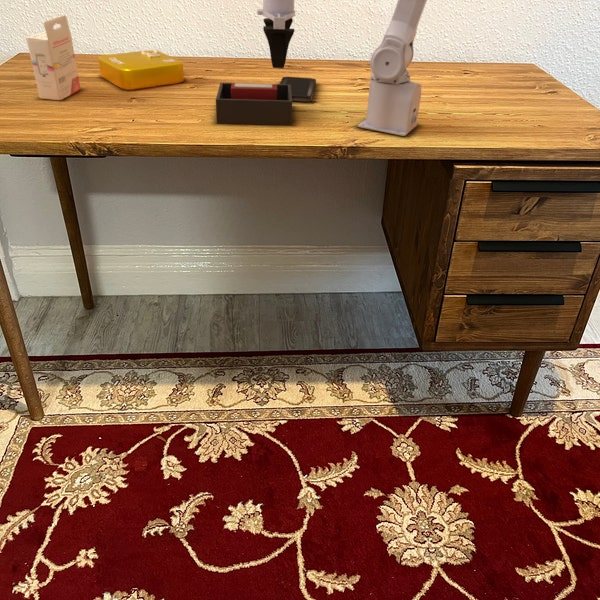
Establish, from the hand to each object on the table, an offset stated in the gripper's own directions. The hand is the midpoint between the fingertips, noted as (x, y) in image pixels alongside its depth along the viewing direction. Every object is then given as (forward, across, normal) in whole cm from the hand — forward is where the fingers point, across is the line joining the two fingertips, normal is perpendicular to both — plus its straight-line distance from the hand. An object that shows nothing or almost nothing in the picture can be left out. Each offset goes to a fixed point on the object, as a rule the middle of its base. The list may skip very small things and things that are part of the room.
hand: (278, 62), depth 115 cm
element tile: (+9, -22, -31) cm, 39 cm away
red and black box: (+9, +3, -4) cm, 10 cm away
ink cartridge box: (+9, -8, -45) cm, 47 cm away
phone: (+9, -14, +4) cm, 17 cm away
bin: (+9, +3, -4) cm, 11 cm away
